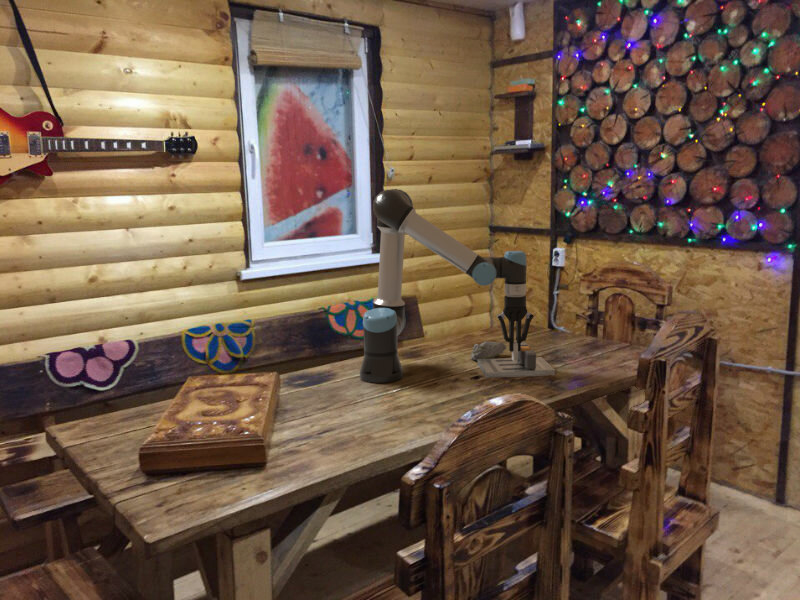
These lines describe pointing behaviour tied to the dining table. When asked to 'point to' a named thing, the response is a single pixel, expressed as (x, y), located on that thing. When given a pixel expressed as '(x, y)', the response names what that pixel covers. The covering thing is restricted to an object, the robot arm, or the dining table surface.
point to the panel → (513, 368)
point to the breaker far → (519, 351)
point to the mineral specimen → (487, 350)
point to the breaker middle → (523, 354)
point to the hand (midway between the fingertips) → (514, 360)
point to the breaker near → (530, 359)
